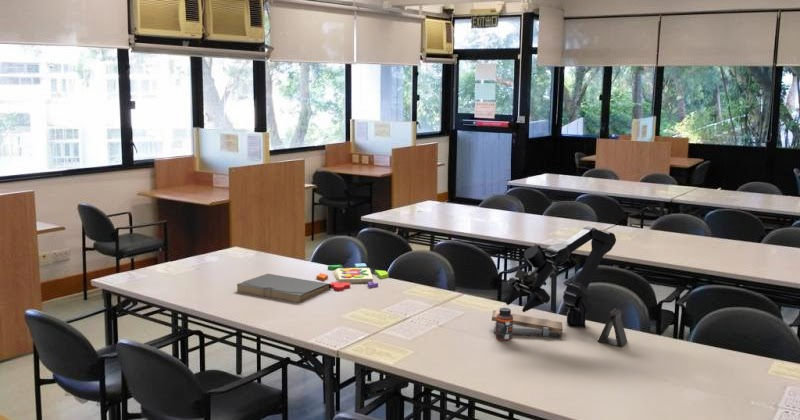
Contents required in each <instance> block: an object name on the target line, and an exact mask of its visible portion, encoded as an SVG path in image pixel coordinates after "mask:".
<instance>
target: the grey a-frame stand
mask: <svg viewBox="0 0 800 420" xmlns="http://www.w3.org/2000/svg"><path fill="white" fill-rule="evenodd" d="M604 325H605V326H604V327H603V329H602V330H601V334H600V335H599V338H598V340H597V342H598V343H600V344H604V345H610V346H614V347H618V348H623V347H624V346H625V345H626V344H628V338H627V334H626V331H625V327H624V323H623V320H622V310H621V309H620V308H618V309H617V308H613V310H611V311H609V313H608V314H607V320H606V323H605V324H604ZM612 328H614V329H613V330H614V333H615V338H611V337H609V336H610V333H611V330H612Z"/></svg>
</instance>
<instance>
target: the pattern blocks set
mask: <svg viewBox="0 0 800 420" xmlns="http://www.w3.org/2000/svg"><path fill="white" fill-rule="evenodd" d="M327 270H328V271H329V270H331V271H332V276H334V278H335V280H336V281H332V282H330V283H329V284H330V285H331V289H333V290H334V291H337V292H341V291H345V290H346V289H350V288H351V284H359V283H360V284H361V283H367V287H368V289H372V288H377V287H379V283H378V282H374V278H373V275H372V270H370V267H368V266H367V264H366V263H364V262H363V263H362V262H361V263H354V267H345V268H344V266H343V265H342V264H333V265H332V264H331V265H328V266H327ZM374 275H376V276H377V277H378V278H379V279H380V280H383V279H387V278H389V273H388V272H387V271H386V270H379V269H375V270H374ZM328 278H329V275H328V274H327V273H322V272H320V273H318V274H317V275H316V279H317V280H318V281H322V282H325V281H326V280H327V279H328Z"/></svg>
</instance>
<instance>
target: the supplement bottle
mask: <svg viewBox="0 0 800 420" xmlns="http://www.w3.org/2000/svg"><path fill="white" fill-rule="evenodd" d="M498 311H499V312H500V313H499V314H498V315H497V318H496V321H495V323H496V333H495V339H496V340H497V341H499V342H511V341H512V339H513V335H512V328H513V316H512V315H511V314H510V313H512V312H511V311H512V309H511V308H510V307H509V308H508V307H500V308H499V310H498Z"/></svg>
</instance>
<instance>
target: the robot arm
mask: <svg viewBox="0 0 800 420" xmlns="http://www.w3.org/2000/svg"><path fill="white" fill-rule="evenodd" d="M590 241H591V242H590ZM588 242H590V243H591V244H590V245H591V246H590V247H591V251H590V252H589V254H588V256H587V258H586V260H585V262H584V264H583V266H582V268H581V270H580V272H579V274H578V277H577V279H575V281H574V283H572V284H571V283H568V284H567V285H566V288H565V290H564V291H563V296H562V299H563V302H564V305H565V306H564V307H566V308H568V310H567V311H566V324H567V326H568V327H572V328H574V327H575V328H584V329H585V328H586V327H587V326H586V318H587V317H586V316H587V313H589V312H590V311H591V309H592V306H591V303H590V302H588V301H587V299H588V297H589V296H588V295H589V293H588V288H589V286H590V284H591V282H592V280H593V278H594V275H595V273H596V271H597V270H598V268H599V265H601V261H602V259H603V258H604V256H605V255H606V254H607V253H609V252H610V251H611V250H612V249H613V247H615V245H616V242H617V238H616V235H615V233H614V232H612V231H611V232H610V231H606V230H602V229H597V228H596V227H592V226H584V227H583V228H582V229H581V230H580V231H578V232H577V233H576V234H574V235H572V236H571V237H569V238H568V239H567V240H565V241H563V242H560V243H556V244H553V245H550V246H548V247H547V248H546V249H543V248H542V247H541V245H540V244H536V243H535V244H534V246H530V247H528V248H527V249H526V250H524V254H523V256H524V258H525V259H526V261H528V263H529V264H530V266H531V267H532V268H534V270H533V271H532V270H529V271H528V272H527V271H526V270H525V271H524V270H521V269H519V268H518V269H517V270H516V272H515V275H514V277H510V278H509V279H508V280H507V281H506V282H507V285H508V286H509V293H508V297H507V300H506V302H505V304H506V305H507V306H509V305H511V304H512V303H513V302H514V301H516V300H517V299H518V298H520V296H521V295H522V293H523V292H526V293H529V294H530V296H529V299H528V301H527V302H525V304H524V306H523V308H522V309H521V311H522V312H523V313H526V312H527V311H530V310H531V309H534V308H536V307H539V306H541V305H545V304H546V305H547V304H548V303H549V302H550V301H551V295H550V294H549V293H548V292H547V291H546V289H545V288H542V287H543V286H544V287H545V286H546V285H547V280H548V279H549V277H550V276H551V275H552V274H555V275H558V273H559V272H558V267H557V266H556V265H563V264H564V263H565V262H566V261H567V260H568V259H569V258H570V256H571V254H572V253H573V252H575V251H576V250H577V249H579V248H581V247H582V246H583V245H586V244H587V243H588ZM553 264H556V265H553Z"/></svg>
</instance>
